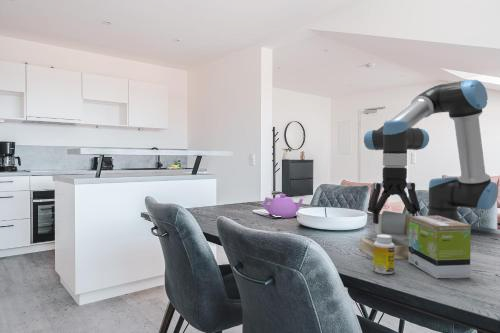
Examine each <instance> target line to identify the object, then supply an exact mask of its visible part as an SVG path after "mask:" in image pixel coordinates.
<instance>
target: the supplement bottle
mask: <svg viewBox="0 0 500 333" xmlns="http://www.w3.org/2000/svg"><path fill="white" fill-rule="evenodd" d="M392 237H393V236H392V235H391V234H383V233H381V234H377V235H376V238H377V241H376V242H374V256H373V257H372V259H373V260H372V263H373V264H372V266H373V271H374V272H375V273H378V274H381V275H391V274H393V273H394V271H395V259H394V247H395V246H394V244H393V243H392Z"/></svg>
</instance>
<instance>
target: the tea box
mask: <svg viewBox="0 0 500 333" xmlns="http://www.w3.org/2000/svg"><path fill="white" fill-rule="evenodd" d="M471 228H472V225H471V224H468V223H464V222H463V221H462V222H461V221H460V222H458V221H455V220H451V219H448V218H445V217H442V216H427V215H416V216H415V215H414V216H409V233H408V237H409V259H408V263H410V264H412V265H414V266H415V267H417V268H419V269H420V270H421V271H423V272H424V273H426V274H428V275H430V276H431V277H433V278H434V277H435V278H434V279H436V278H450V279H466V278H471V242H472V241H471V240H472V238H471V237H472V236H471V235H472V234H471V233H472V229H471Z"/></svg>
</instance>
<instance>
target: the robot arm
mask: <svg viewBox="0 0 500 333" xmlns="http://www.w3.org/2000/svg"><path fill="white" fill-rule="evenodd" d="M487 106H488V93H487V89H486V87H485V84H483V83H482V81H480V80H478V79H468V80H467V79H466V80H465V79H464V80H459V81H454V82H449V83H443V84H438V85H435V86H433V87H430V88H428V89H426V90H424V91H423V92H421V93H420V94H418V95H417V96H416V97H414V98H413V99H412V100H411V102H410V104H409V105H408V106H407V107H405V108H404V109H403V110H401V111H400V112H399V113H397V114H396V115H395V116H393V117H392V118H391V119H390V120H386V121H384V123H383V125H382V126H381V127H379V128H378V129H372V130H369V131H367V132H365V134H364V135H363V144H364V147H365V148H366V149H367V150H371V151H382V166H383V168H382V182H374V183H373V190H372V193H371V197H370V200H369V204H368V207H367V211H368V212H370V213H371V214H372V219H373V220H372V222H373V224H375V225H374V226H375V227H374V233H375V234H377V235H382V233H381V223H382V214H380V213H381V211H383V210H382V209H383V208H384V206H385V204H386V202H387V201H388V199H389V198H390V196H395V195H397V196H398V197H399V198H400V200H401V202H402V203H403V205H404V207H405V208H406V211H407V212H405V214H406V215H408V216H415V215H416V214H417V213H418V212H420V211H421V207H420V204H419V201H418V197H417V193H416V183H415V182H407V178H408V173H407V172H408V169H407V168H406V167H407V166H408V151H410V150H411V151H412V150H413V151H415V150H416V151H418V150H422V149H425V148H426V147H427V146H428V145H429V142H430V135H429V133H428V132H427V131H426V130H425V129H423V128H419V127H414V126H415V125H416V124H418V123H419V122H421V121H422V120H423V119H426V118H428V117H430V116H432V115H434V114H439V113H440V114H441V113H448V116H449V118H450V119H451V120H453V121H454V130H455V136H456V142H457V143H456V144H457V145H456V146H457V151H458V158H459V165H460V167H459V168H460V172H461V175H460V176H459V177H457V176H453V177H452V176H451V177H437V178H432V179H430V180H429V183H428V212H427V215H426V216H442V217H445V218H448V219H451V220H455V221H458V222H461V219H460V215H459V212H458V208H465V209H472V210H474V209H475V210H478V211H479V210H482V211H483V210H487V211H488V210H490V209H492V208H493V207H494V205H495V204H496V202H497V198H498V195H499V186H498V184H497V182H494V181H491V175H489V174H488V173H486V168H485V160H484V152H483V143H482V135H481V134H482V133H481V126H480V116H481V115H482V113H483V109H485V108H486V107H487ZM382 189H383V190H382ZM406 189H407V192H406ZM381 190H382V192H381ZM407 193H408V194H407ZM380 195H381V196H380ZM407 234H409V225H408V233H407Z"/></svg>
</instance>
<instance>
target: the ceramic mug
mask: <svg viewBox="0 0 500 333" xmlns="http://www.w3.org/2000/svg"><path fill="white" fill-rule="evenodd" d="M381 215H382V223H381V234H383V235H391V236H392V235H394V236H407V235H408V234H409V233H408V225H409V216H408V215H406V213H403V212H402V213H401V212H394V211H389V210H382V214H381Z"/></svg>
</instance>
